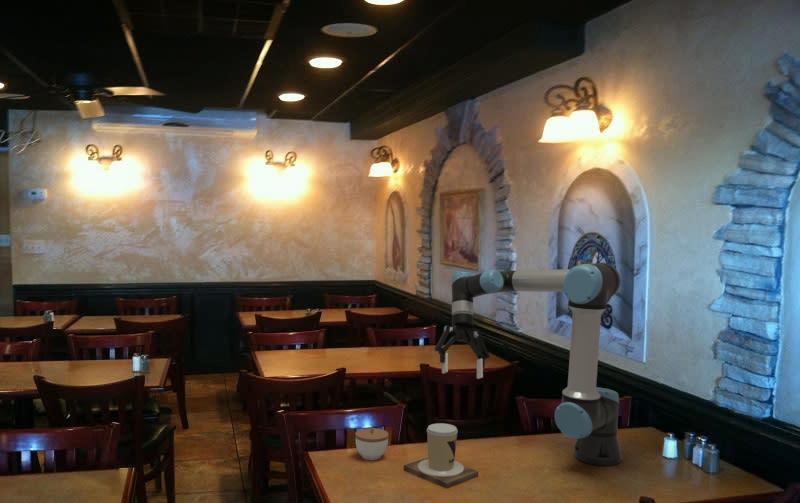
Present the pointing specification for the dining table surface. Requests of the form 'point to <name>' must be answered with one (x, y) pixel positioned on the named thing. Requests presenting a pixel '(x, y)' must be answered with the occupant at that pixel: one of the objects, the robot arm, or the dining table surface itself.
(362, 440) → the lidded jar
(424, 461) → the serving board
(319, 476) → the dining table surface
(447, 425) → the coffee cup
